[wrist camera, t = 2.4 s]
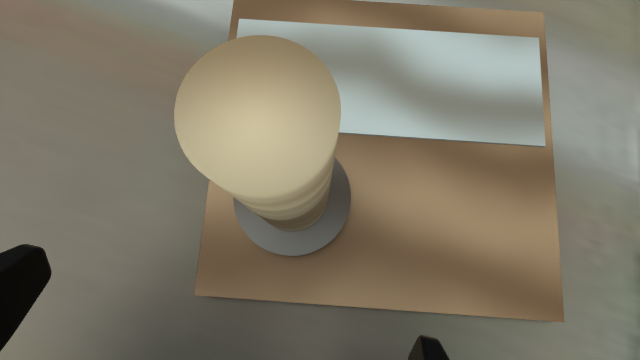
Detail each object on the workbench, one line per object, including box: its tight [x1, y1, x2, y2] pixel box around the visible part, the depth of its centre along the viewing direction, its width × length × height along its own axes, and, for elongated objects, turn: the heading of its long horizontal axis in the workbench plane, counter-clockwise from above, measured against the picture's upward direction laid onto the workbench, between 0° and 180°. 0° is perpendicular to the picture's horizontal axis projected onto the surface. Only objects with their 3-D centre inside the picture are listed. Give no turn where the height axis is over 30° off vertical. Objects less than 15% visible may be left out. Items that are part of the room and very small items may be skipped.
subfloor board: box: [194, 0, 564, 322], centre depth 21 cm, size 17×18×1 cm
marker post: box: [174, 35, 351, 256], centre depth 14 cm, size 6×6×12 cm
